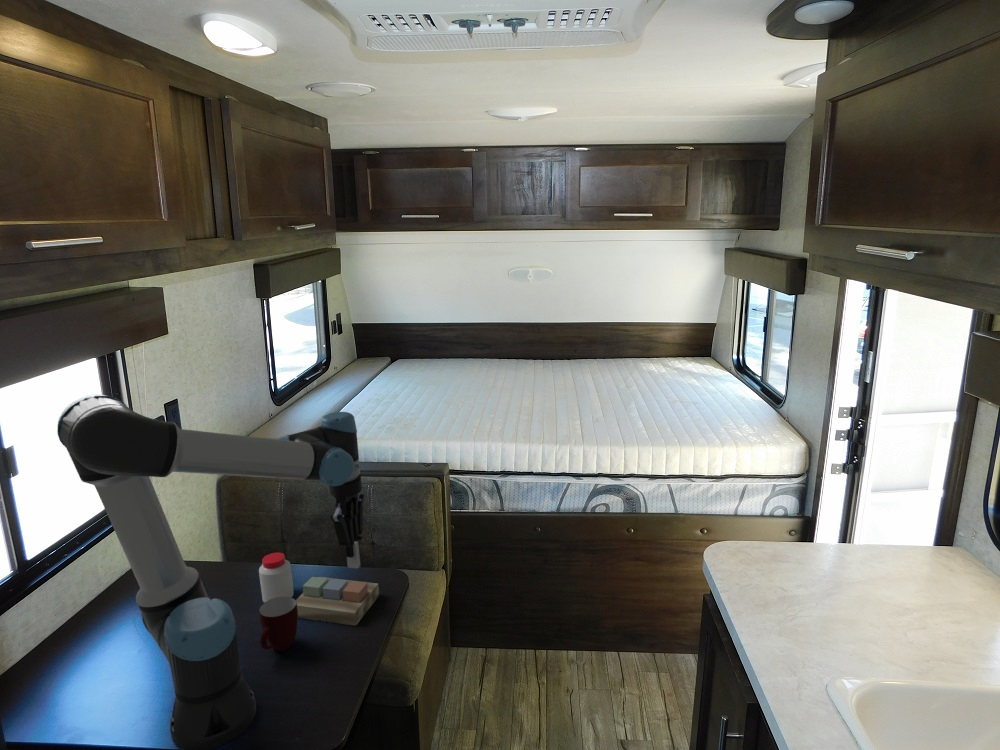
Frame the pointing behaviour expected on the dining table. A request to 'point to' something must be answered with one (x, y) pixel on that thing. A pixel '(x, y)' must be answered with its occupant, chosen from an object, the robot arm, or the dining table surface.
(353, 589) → the tile terracotta
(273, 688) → the dining table surface
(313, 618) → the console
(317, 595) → the tile sage
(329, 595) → the tile slate
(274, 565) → the pill bottle
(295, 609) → the mug
